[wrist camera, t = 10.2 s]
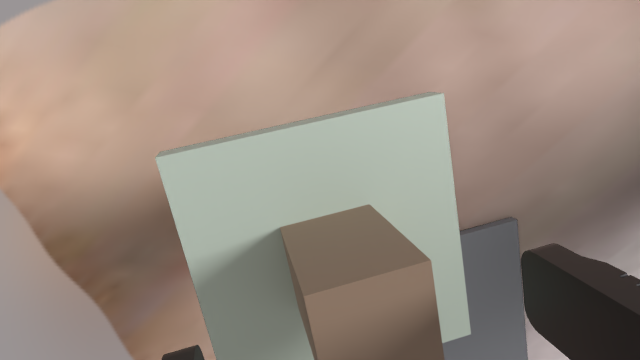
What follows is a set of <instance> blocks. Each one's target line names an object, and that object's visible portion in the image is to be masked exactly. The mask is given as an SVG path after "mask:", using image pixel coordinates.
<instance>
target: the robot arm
mask: <svg viewBox="0 0 640 360" xmlns="http://www.w3.org/2000/svg"><path fill="white" fill-rule="evenodd" d="M521 266H522V279H523V293H524V305H525V311H526V314H527V317H528V319H529V321H530V323H531V324H532V326H533V327H534V328H535V330H536V331H537V332H538V333H539V334H541V335H542V336H543V337H544V338H545V339H547V340H548V341H549V342H550V343H551V344H553V345H554V346H555V347H556V348H557V349H558V350H560V351H561V352H562V353H563V354H564V355H566V356H567V357H568V358H569V359H570V360H640V280H639V279H637V278H635V277H633V276H631V275H630V276H628V275H627V273H626V272H624V271H622V270H620V269H618V268H616V267H614V266H612V265H610V264H608V263H605V262H601V261H597V260H593V259H590V258H586V257H581V256H580V255H578V254H576V253H574V252H572V251H570V250H568V249H566V248H564V247H562V246H560V245H558V244H549V245H546V246H542V247H539V248H535V249H532V250H528V251H525V252H524V253H523V254H522V258H521ZM162 360H204V357H203V354H202V351H201V349H200V347H199V346H198V345H196V346H192V347H189V348H185V349H182V350H178V351H175V352H171V353H168V354H164V355H163V357H162Z"/></svg>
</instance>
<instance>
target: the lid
mask: <svg viewBox="0 0 640 360" xmlns="http://www.w3.org/2000/svg"><path fill="white" fill-rule="evenodd" d="M155 159H156V162H157V165H158V169H159V172H160V175H161V179H162V182H163V185H164V189H165V192H166V195H167V198H168V202H169V205H170V208H171V212H172V215H173V218H174V221H175V225H176V228H177V231H178V235H179V238H180V241H181V244H182V248H183V251H184V254H185V258H186V261H187V264H188V267H189V271H190V274H191V277H192V281H193V284H194V287H195V290H196V294H197V297H198V300H199V304H200V307H201V310H202V314H203V317H204V320H205V323H206V327H207V330H208V333H209V337H210V340H211V343H212V346H213V350H214V353H215V356H216V360H445V359H444V352H443V344H442V343H445V342H448V341H451V340H454V339H457V338H461V337H464V336H467V335H470V334H471V329H470V320H469V312H468V303H467V294H466V285H465V276H464V267H463V259H462V250H461V241H460V232H459V223H458V215H457V206H456V197H455V188H454V179H453V171H452V162H451V153H450V144H449V135H448V126H447V118H446V109H445V100H444V93H436V92H427V93H423V94H418V95H414V96H409V97H405V98H400V99H396V100H391V101H387V102H382V103H378V104H373V105H369V106H364V107H360V108H355V109H351V110H346V111H342V112H337V113H333V114H328V115H324V116H319V117H315V118H310V119H306V120H301V121H297V122H292V123H288V124H283V125H279V126H274V127H270V128H265V129H261V130H256V131H252V132H247V133H243V134H238V135H234V136H229V137H225V138H220V139H216V140H211V141H207V142H202V143H198V144H193V145H189V146H184V147H180V148H175V149H171V150H166V151H162V152H160V153H159V154H158V155H157V156H156V157H155Z"/></svg>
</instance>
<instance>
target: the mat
mask: <svg viewBox="0 0 640 360" xmlns="http://www.w3.org/2000/svg"><path fill="white" fill-rule="evenodd" d="M459 232H460V241H461V250H462V259H463V267H464V276H465V285H466V294H467V303H468V312H469V320H470V329H471V334H470V335H467V336H464V337H461V338H457V339H454V340H451V341H448V342H445V343H442V344H443V352H444V359H445V360H528V356H527V343H526V330H525V317H524V303H523V290H522V277H521V264H520V251H519V237H518V224H517V219H515V218H513V217H510V218H506V219H503V220H499V221H495V222H492V223H488V224H485V225H481V226H477V227H474V228H470V229H467V230H463V231H459Z"/></svg>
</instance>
